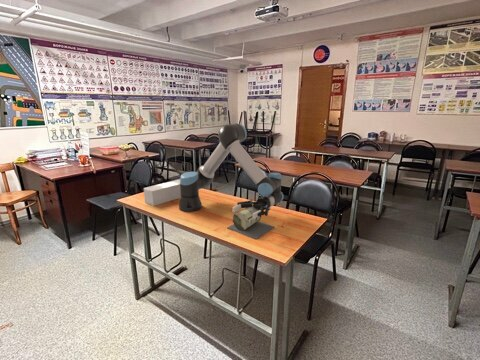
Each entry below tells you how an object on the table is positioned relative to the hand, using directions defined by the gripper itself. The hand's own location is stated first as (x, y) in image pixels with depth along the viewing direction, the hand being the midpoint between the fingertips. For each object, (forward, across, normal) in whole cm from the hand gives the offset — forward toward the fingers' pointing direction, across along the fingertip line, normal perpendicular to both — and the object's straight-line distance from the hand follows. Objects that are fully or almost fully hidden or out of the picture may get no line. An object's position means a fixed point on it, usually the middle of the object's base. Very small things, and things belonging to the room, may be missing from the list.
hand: (242, 213), depth 139 cm
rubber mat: (-8, 0, -12) cm, 14 cm away
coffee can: (-1, +2, -6) cm, 6 cm away
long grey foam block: (-8, +77, -12) cm, 78 cm away
